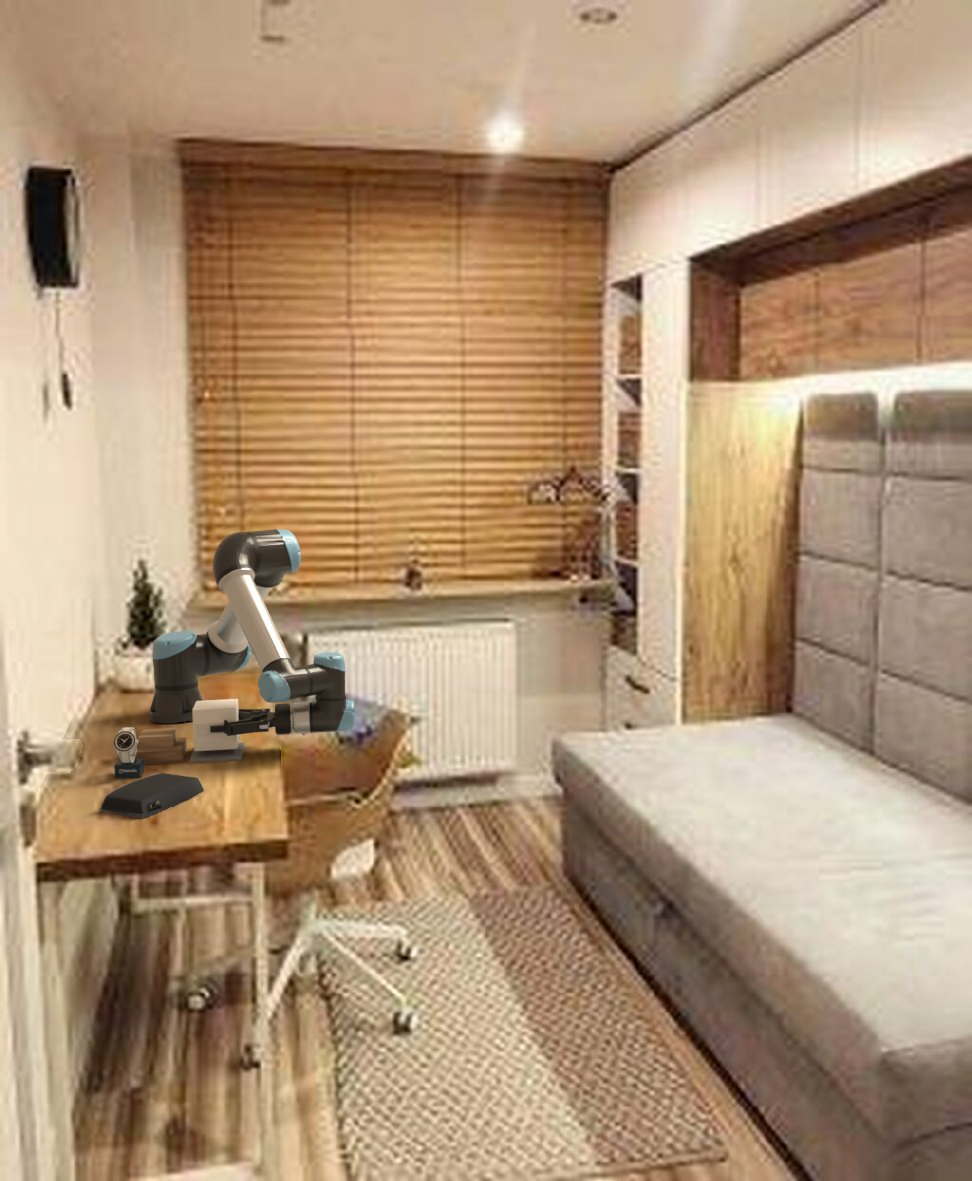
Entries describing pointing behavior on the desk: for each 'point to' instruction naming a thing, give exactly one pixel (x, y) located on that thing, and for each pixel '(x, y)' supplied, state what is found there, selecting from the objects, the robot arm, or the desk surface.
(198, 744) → the off-white rounded cube
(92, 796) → the desk surface
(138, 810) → the external hard drive
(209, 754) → the mat
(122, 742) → the watch
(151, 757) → the brown stepped block
